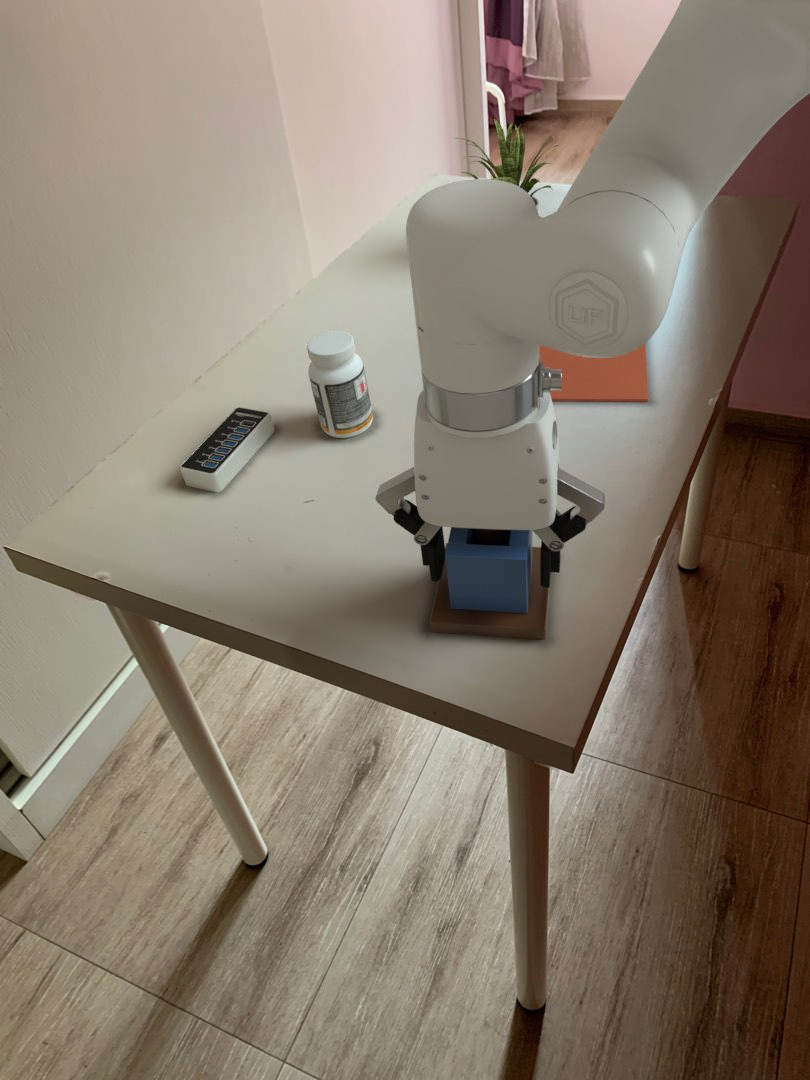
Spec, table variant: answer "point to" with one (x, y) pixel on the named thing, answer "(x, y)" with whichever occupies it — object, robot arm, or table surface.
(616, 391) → the mat
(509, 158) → the house plant
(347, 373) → the pill bottle
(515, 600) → the blue block
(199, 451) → the multiport hub
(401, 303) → the table surface
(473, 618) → the dowel stand
